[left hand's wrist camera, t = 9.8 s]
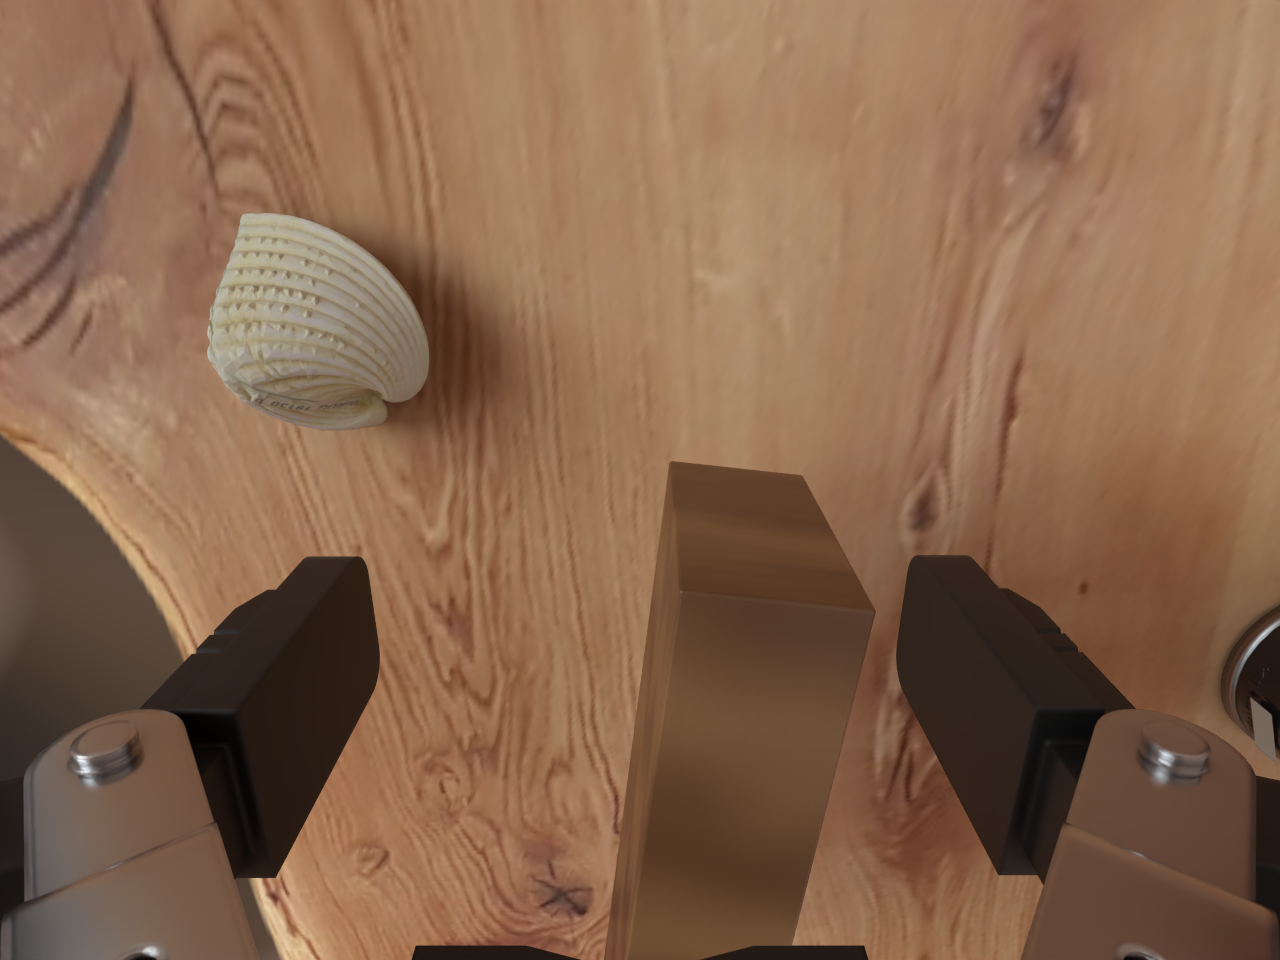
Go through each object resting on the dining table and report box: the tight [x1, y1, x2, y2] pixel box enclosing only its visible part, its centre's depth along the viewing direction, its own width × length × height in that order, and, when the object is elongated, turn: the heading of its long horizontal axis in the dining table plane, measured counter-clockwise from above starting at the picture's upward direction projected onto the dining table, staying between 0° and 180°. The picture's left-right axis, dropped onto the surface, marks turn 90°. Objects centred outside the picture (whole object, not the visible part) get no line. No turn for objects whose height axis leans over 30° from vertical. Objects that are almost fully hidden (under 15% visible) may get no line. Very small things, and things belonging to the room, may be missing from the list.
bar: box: [604, 461, 875, 960], centre depth 26 cm, size 24×5×9 cm, turn 174°
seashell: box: [207, 213, 429, 431], centre depth 32 cm, size 8×8×8 cm
